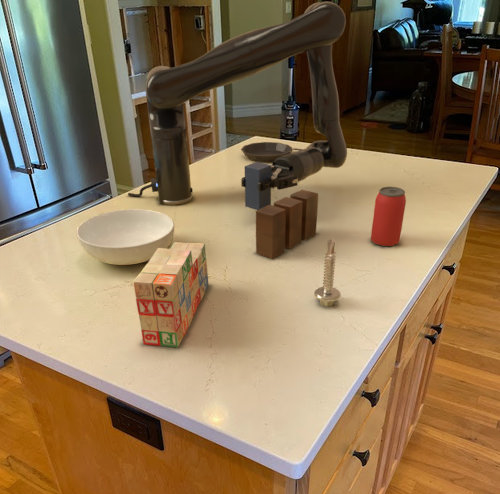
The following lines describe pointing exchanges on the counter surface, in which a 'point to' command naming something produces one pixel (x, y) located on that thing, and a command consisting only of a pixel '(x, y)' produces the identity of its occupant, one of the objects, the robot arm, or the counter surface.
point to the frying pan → (266, 151)
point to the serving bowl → (125, 235)
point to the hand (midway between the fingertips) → (251, 185)
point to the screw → (328, 278)
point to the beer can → (388, 216)
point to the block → (252, 178)
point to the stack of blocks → (170, 292)
